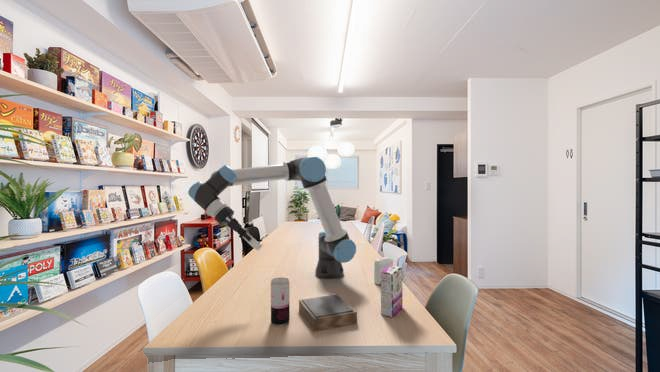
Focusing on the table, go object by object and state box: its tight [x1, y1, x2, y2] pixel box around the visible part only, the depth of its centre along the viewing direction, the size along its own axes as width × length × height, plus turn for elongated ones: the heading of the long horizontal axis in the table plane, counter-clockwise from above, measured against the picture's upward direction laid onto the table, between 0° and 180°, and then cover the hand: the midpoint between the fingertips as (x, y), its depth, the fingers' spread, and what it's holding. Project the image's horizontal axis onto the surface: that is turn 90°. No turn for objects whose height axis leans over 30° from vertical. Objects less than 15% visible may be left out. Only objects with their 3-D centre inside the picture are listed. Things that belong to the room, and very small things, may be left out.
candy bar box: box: [380, 264, 404, 318], centre depth 121 cm, size 11×5×16 cm, turn 148°
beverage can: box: [270, 277, 290, 327], centre depth 111 cm, size 7×7×15 cm
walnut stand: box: [298, 294, 358, 332], centre depth 116 cm, size 16×18×4 cm
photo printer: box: [373, 256, 394, 285], centre depth 154 cm, size 10×4×12 cm, turn 123°
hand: (258, 247), depth 126 cm, fingers open, 13 cm apart
